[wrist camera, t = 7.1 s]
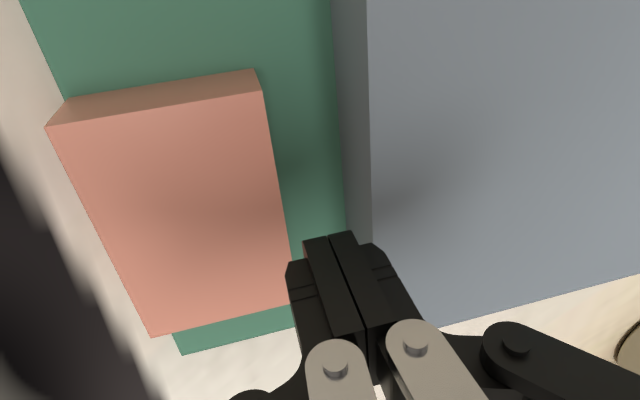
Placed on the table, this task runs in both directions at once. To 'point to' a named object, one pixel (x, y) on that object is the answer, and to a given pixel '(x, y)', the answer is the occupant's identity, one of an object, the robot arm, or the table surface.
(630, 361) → the travel mug
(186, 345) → the mat
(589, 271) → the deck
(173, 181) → the pink slab
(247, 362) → the table surface
